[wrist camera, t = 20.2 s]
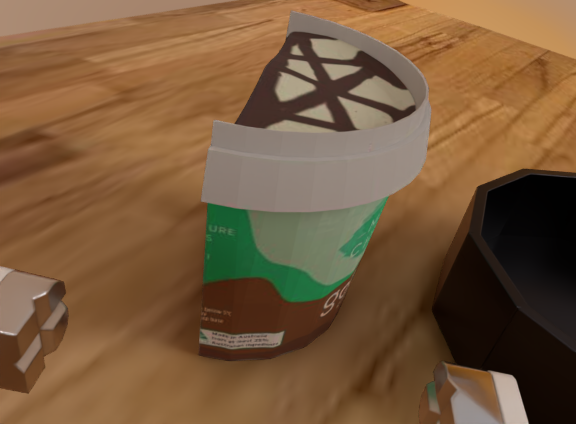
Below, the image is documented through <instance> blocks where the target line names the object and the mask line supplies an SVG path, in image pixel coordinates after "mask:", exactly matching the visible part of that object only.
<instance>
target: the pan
mask: <svg viewBox="0 0 576 424" xmlns="http://www.w3.org/2000/svg"><path fill="white" fill-rule="evenodd" d="M432 312H433V314H434V316H435V318H436V320H437V322H438V324H439V327H440V329H441V331H442V333H443V335H444V337H445V339H446V342H447V344H448V346H449V348H450V350H451V352H452V354H453V357H454V359H455V361H456V363H457V364H461V365H466V366H471V367H476V368H481V369H486V370H487V371H488V370H489V371H494V372H499V373H504V374H508V375H513V377H514V378H515V379H516V381H517V385H518V388H519V392H520V395H521V399H522V402H523V405H524V409H525V412H526V416H527V419H528V422H529V424H576V173H572V172H560V171H547V170H535V169H521V170H518V171H516V172H513V173H511V174H508V175H506V176H503V177H500V178H498V179H495V180H493V181H490V182H488V183H485V184H482V185H480V186H478V187H477V189H476V191H475V193H474V195H473V197H472V200H471V202H470V204H469V206H468V208H467V211H466V213H465V215H464V217H463V219H462V222H461V224H460V226H459V228H458V230H457V233H456V235H455V237H454V239H453V241H452V243H451V246H450V248H449V250H448V252H447V254H446V257H445V259H444V262H443V266H442V270H441V274H440V279H439V283H438V287H437V291H436V295H435V299H434V303H433V307H432Z"/></svg>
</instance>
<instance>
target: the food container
mask: <svg viewBox="0 0 576 424" xmlns="http://www.w3.org/2000/svg"><path fill="white" fill-rule="evenodd" d="M428 93H429V87H428V84H427V81H426V79H425V77H424V76H423V74H422V73H421V71H420V70H419V69H418V68H417V67H416V66H415V65H414V64H413V63H412V62H411V61H410V60H409V59H407V58H406V57H405V56H403V55H402V54H401V53H399V52H398V51H396V50H395V49H393V48H391V47H390V46H388V45H386V44H384V43H383V42H381V41H379V40H377V39H375V38H372V37H370V36H368V35H366V34H364V33H361V32H359V31H357V30H354V29H352V28H349V27H346V26H344V25H341V24H338V23H335V22H332V21H329V20H326V19H322V18H318V17H315V16H311V15H307V14H303V13H299V12H295V11H291V14H290V19H289V25H288V30H287V36H286V41H285V43H284V45H283V47H282V48H281V50H280V51H279V53H278V54H277V55H276V56H275V57H274V58H273V59H272V60H271V61H270V62H269V63H268V64H267V65H266V67H265V68H264V70H263V73H262V75H261V77H260V79H259V81H258V83H257V85H256V87H255V89H254V91H253V92H252V94H251V96H250V98H249V100H248V102H247V104H246V106H245V107H244V109H243V111H242V112H241V114H240V116H239V117H238V119H237V121H236V122H235V124H232V123H227V122H222V121H218V120H214V121H213V130H212V140H211V146H210V147H209V149H208V154H207V161H206V168H205V175H204V182H203V189H202V196H201V202H206V203H208V205H207V222H206V239H205V255H204V272H203V288H202V305H201V322H200V338H199V355H200V356H206V357H211V358H217V359H222V360H228V361H236V360H256V359H271V358H274V357H277V356H280V355H283V354H286V353H289V352H292V351H295V350H298V349H301V348H304V347H305V346H307V345H308V344H309V343H311V342H312V341H313V340H314V339H316V338H317V337H318V336H320V335H321V334H322V333H324V332H325V331H326V330H327V329H328V328H329V327H330V325H331V323H332V322H333V320H334V318H335V316H336V315H337V313H338V311H339V309H340V307H341V304H342V302H343V300H344V297H345V295H346V293H347V291H348V288H349V286H350V284H351V281H352V279H353V277H354V275H355V272H356V270H357V268H358V265H359V263H360V261H361V258H362V256H363V254H364V252H365V249H366V247H367V245H368V242H369V240H370V238H371V236H372V233H373V231H374V229H375V226H376V224H377V222H378V220H379V217H380V215H381V213H382V210H383V208H384V206H385V204H386V201H387V199H388V197H389V195H392V194H394V193H395V192H397V191H398V190H400V189H402V188H403V187H405V186H406V185H408V184H409V183H410V182H411V181H412V180H413V179H414V178H415V177H416V176H417V175H418V174H419V173H420V171H421V169H422V167H423V165H424V162H425V160H426V153H427V145H428V136H429V128H430V119H431V107H430V104H429V100H428Z"/></svg>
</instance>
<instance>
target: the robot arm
mask: <svg viewBox="0 0 576 424" xmlns="http://www.w3.org/2000/svg"><path fill="white" fill-rule="evenodd" d="M65 294H66V290H65V284H64V282H63V281H61V280H57V279H53V278H49V277H45V276H41V275H36V274H32V273H28V272H24V271H20V270H16V269H15V270H14V269H10V268H6V267H2V266H0V388H1V389H6V390H12V391H17V392H23V393H28V394H29V392H30V390H31V389H32V387H33V386H34V384H35V383H36V381H37V379H38V378H39V376H40V375H41V373H42V372H43V370H44V368H45V362H44V357H45V356H46V355H48V354H50V353H52V352H54V351H55V350H56V349H57V348H58V346H59V344H60V343H61V341H62V339H63V337H64V334H65V331H66V328H67V325H68V316H69V315H68V308H67V306H66V305H65V304H64V303H63V302H62V301H61V300H62V298H63V297H64V295H65ZM433 373H434V381H432V382H430V383H428V384H426V386H425V389H424V391H423V393H422V396H421V400H420V405H419V424H529V422H528V419H527V416H526V412H525V409H524V405H523V402H522V399H521V395H520V392H519V388H518V385H517V381H516V379H515V378H514V377H513V375H508V374H504V373H499V372H494V371H489V370H488V371H487V370H486V369H481V368H476V367H471V366H466V365H461V364H456V363H451V362H446V361H440V362H439V363H438V364H437V365H436V367H435V369H434V371H433Z"/></svg>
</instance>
